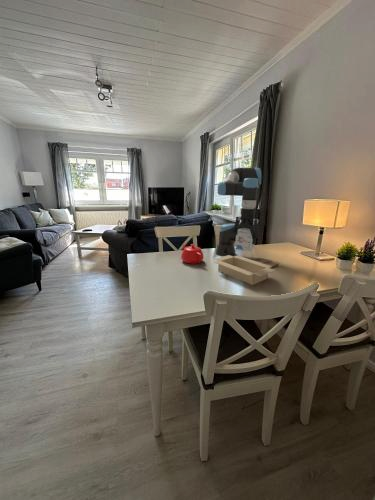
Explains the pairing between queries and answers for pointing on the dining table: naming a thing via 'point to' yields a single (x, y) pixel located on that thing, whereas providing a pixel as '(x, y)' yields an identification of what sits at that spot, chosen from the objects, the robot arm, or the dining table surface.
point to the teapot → (192, 254)
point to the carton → (243, 268)
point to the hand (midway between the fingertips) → (244, 247)
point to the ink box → (243, 239)
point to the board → (267, 262)
